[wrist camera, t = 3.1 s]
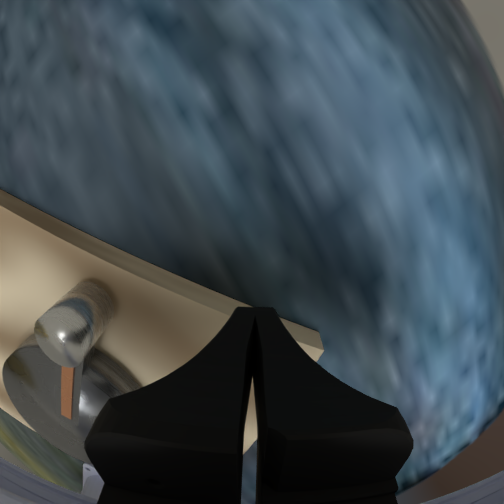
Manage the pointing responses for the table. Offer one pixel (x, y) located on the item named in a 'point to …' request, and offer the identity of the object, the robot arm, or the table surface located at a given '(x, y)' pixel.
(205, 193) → the table surface
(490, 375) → the table surface
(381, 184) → the table surface
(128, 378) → the dial
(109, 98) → the table surface
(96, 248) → the base plate
